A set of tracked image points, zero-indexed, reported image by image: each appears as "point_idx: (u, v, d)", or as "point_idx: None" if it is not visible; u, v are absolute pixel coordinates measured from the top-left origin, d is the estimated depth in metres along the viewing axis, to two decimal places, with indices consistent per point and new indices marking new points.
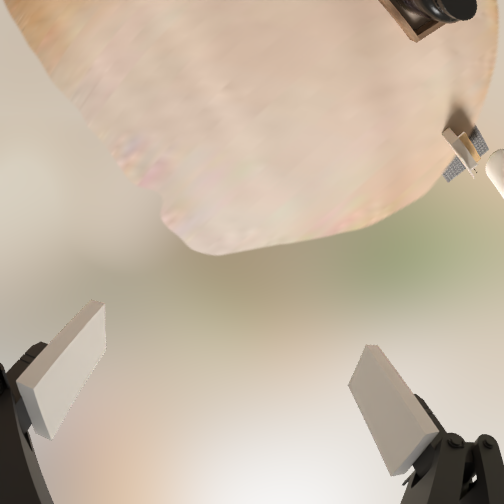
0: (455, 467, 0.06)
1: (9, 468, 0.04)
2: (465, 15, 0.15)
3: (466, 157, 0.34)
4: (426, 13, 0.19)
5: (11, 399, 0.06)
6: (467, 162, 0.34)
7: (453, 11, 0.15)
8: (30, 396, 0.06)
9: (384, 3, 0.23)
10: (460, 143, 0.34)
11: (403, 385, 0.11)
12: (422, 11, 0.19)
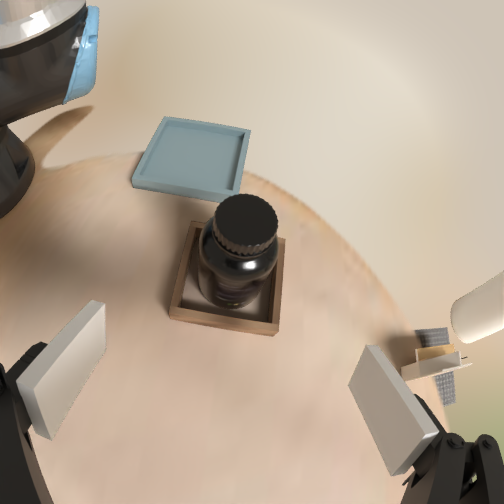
0: (455, 467, 0.06)
1: (9, 468, 0.04)
2: (269, 227, 0.22)
3: (444, 363, 0.26)
4: (243, 282, 0.24)
5: (11, 399, 0.06)
6: (450, 364, 0.25)
7: (253, 238, 0.21)
8: (30, 396, 0.06)
9: (210, 322, 0.28)
10: (425, 362, 0.27)
11: (402, 385, 0.11)
12: (239, 285, 0.24)
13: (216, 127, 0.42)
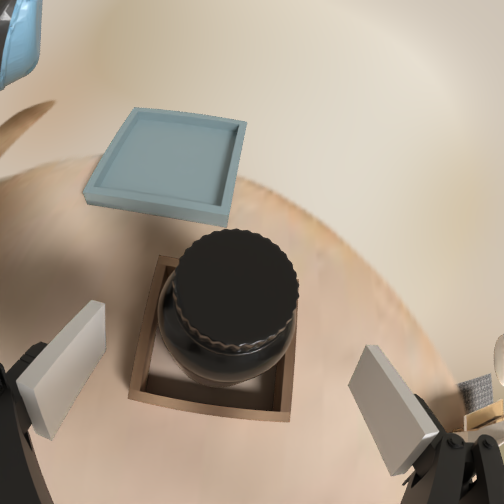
0: (455, 467, 0.06)
1: (9, 468, 0.04)
2: (282, 301, 0.11)
3: (496, 432, 0.15)
4: (234, 381, 0.13)
5: (11, 399, 0.06)
6: None
7: (252, 327, 0.10)
8: (30, 396, 0.06)
9: None
10: (476, 432, 0.16)
11: (402, 385, 0.11)
12: (228, 383, 0.13)
13: (201, 119, 0.31)
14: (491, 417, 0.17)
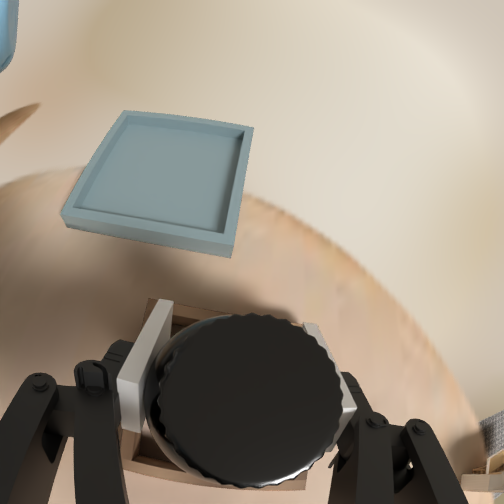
0: (380, 449, 0.07)
1: (97, 468, 0.05)
2: (320, 422, 0.06)
3: None
4: None
5: (112, 401, 0.07)
6: None
7: (277, 463, 0.06)
8: (130, 391, 0.08)
9: None
10: (497, 476, 0.11)
11: None
12: None
13: (200, 124, 0.27)
14: None
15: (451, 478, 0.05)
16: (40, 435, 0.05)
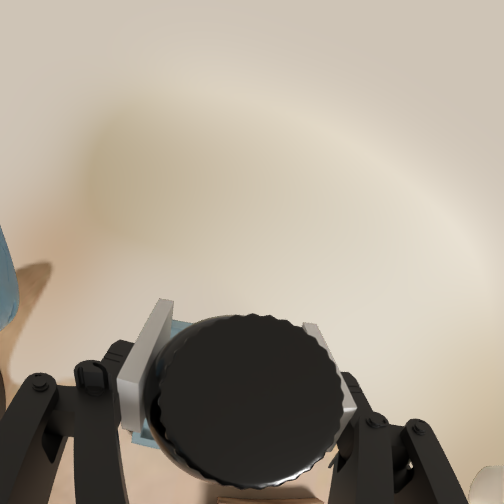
0: (380, 449, 0.07)
1: (97, 468, 0.05)
2: (321, 423, 0.06)
3: None
4: None
5: (112, 401, 0.07)
6: None
7: (278, 464, 0.06)
8: (130, 391, 0.08)
9: None
10: None
11: None
12: None
13: None
14: None
15: (451, 478, 0.05)
16: (40, 435, 0.05)
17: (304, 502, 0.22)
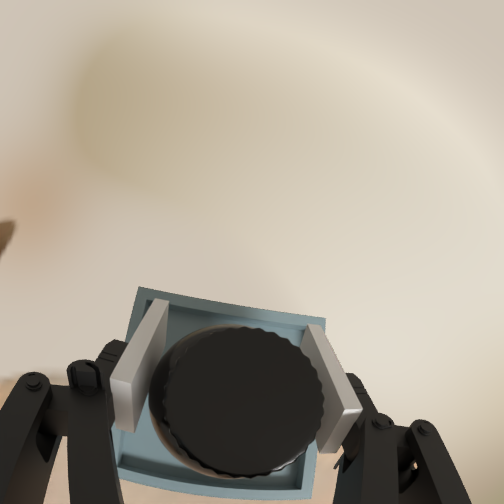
0: (386, 450, 0.07)
1: (91, 467, 0.05)
2: (303, 422, 0.08)
3: None
4: None
5: (105, 401, 0.07)
6: None
7: (265, 457, 0.07)
8: (123, 391, 0.08)
9: None
10: None
11: (334, 361, 0.12)
12: None
13: (255, 319, 0.20)
14: None
15: (455, 479, 0.05)
16: (34, 435, 0.05)
17: None
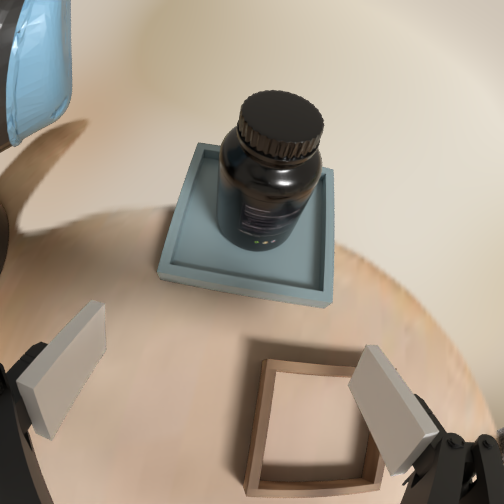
0: (455, 467, 0.06)
1: (9, 468, 0.04)
2: (313, 125, 0.15)
3: None
4: (278, 201, 0.17)
5: (11, 399, 0.06)
6: None
7: (294, 134, 0.15)
8: (30, 396, 0.06)
9: None
10: None
11: (402, 385, 0.11)
12: (272, 207, 0.18)
13: None
14: None
15: None
16: None
17: None
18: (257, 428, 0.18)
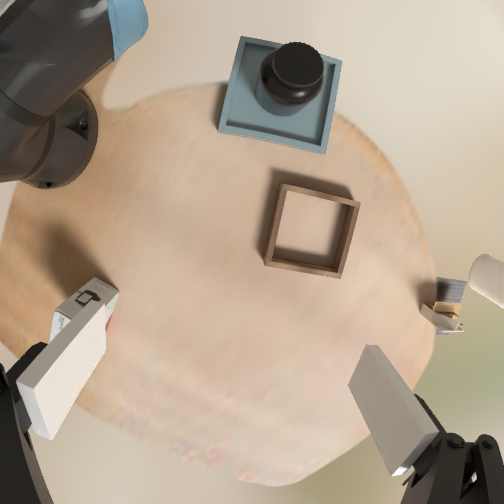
0: (455, 467, 0.06)
1: (9, 468, 0.04)
2: (316, 71, 0.23)
3: (446, 322, 0.39)
4: (293, 104, 0.27)
5: (11, 399, 0.06)
6: (450, 326, 0.38)
7: (303, 79, 0.23)
8: (30, 396, 0.06)
9: None
10: (437, 315, 0.40)
11: (402, 385, 0.11)
12: (290, 106, 0.28)
13: None
14: (450, 311, 0.41)
15: None
16: None
17: None
18: (273, 223, 0.37)
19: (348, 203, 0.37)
